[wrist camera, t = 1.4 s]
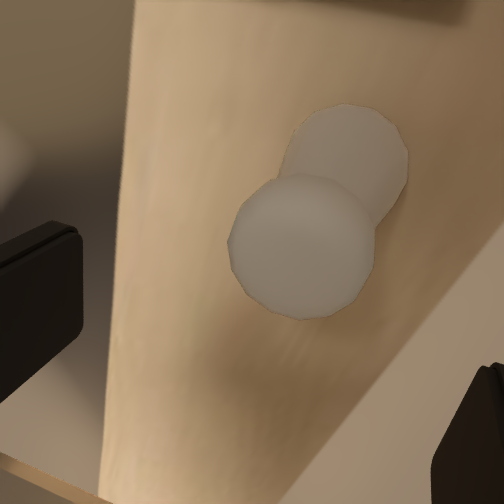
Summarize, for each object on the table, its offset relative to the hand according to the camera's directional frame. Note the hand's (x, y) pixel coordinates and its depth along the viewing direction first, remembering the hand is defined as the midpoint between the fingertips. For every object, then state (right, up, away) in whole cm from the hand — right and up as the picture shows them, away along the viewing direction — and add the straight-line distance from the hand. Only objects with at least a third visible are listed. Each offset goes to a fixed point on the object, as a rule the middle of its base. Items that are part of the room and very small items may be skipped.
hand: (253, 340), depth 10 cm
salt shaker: (+5, +7, +13) cm, 16 cm away
